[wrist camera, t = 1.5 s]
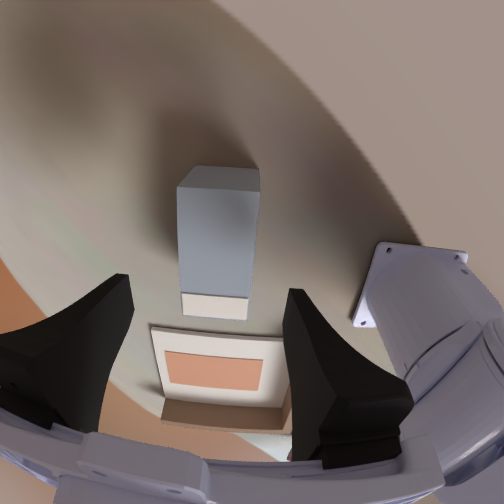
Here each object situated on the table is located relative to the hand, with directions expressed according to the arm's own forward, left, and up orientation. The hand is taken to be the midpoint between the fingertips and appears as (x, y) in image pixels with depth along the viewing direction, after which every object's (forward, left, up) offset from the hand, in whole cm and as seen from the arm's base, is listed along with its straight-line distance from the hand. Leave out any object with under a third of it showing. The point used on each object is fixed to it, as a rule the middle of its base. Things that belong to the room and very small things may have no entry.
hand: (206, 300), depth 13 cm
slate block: (0, 0, -8) cm, 8 cm away
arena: (-1, +16, -8) cm, 18 cm away
